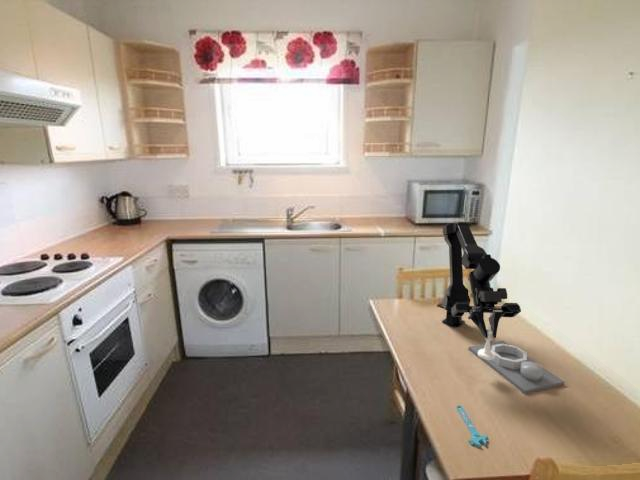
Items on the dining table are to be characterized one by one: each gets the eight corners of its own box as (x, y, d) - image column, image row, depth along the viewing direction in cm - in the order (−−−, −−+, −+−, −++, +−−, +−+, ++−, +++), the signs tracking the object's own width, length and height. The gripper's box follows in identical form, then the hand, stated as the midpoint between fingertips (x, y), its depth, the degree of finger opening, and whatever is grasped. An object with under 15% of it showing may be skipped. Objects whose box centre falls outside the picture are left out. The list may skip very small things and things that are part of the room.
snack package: (449, 295, 166) (459, 298, 162) (448, 299, 166) (459, 302, 163) (436, 303, 158) (447, 306, 154) (436, 307, 158) (446, 310, 155)
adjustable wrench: (493, 444, 84) (472, 445, 84) (493, 448, 84) (471, 449, 84) (467, 403, 98) (448, 404, 98) (466, 406, 98) (448, 407, 98)
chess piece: (476, 357, 109) (480, 327, 106) (478, 349, 113) (481, 319, 111) (495, 361, 107) (498, 330, 104) (495, 353, 111) (499, 323, 108)
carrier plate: (468, 349, 125) (469, 338, 124) (502, 343, 128) (503, 332, 127) (524, 393, 102) (526, 381, 101) (563, 384, 106) (566, 372, 105)
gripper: (457, 277, 108) (466, 329, 100) (522, 277, 107) (536, 330, 99) (447, 291, 118) (455, 340, 110) (507, 292, 117) (519, 341, 109)
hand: (490, 338), depth 107 cm, fingers closed on chess piece
